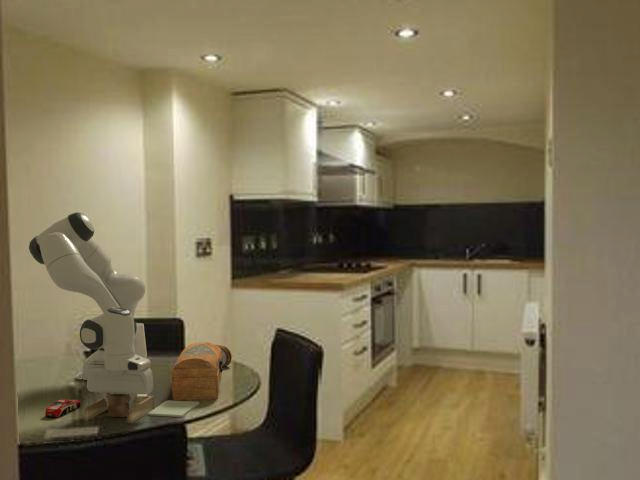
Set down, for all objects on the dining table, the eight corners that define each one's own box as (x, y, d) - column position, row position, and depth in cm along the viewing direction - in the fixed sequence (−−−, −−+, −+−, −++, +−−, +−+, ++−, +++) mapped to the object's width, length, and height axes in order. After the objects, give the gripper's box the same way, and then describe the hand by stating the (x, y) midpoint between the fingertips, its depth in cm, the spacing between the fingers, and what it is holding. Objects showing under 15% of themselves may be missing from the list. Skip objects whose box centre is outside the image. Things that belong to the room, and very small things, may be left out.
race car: (69, 406, 199) (69, 393, 199) (84, 407, 198) (84, 394, 197) (41, 418, 186) (41, 405, 186) (57, 419, 185) (57, 406, 185)
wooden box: (220, 399, 205) (220, 357, 205) (169, 401, 204) (169, 358, 204) (226, 377, 235) (225, 340, 235) (181, 378, 234) (181, 341, 233)
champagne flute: (123, 394, 211) (122, 324, 210) (142, 391, 215) (142, 322, 214) (130, 399, 205) (130, 326, 205) (150, 395, 209) (149, 324, 209)
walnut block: (108, 416, 186) (108, 396, 186) (116, 411, 191) (116, 391, 191) (123, 417, 186) (123, 397, 185) (131, 412, 191) (131, 392, 190)
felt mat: (147, 415, 188) (147, 413, 188) (167, 402, 202) (167, 400, 202) (182, 417, 186) (182, 415, 186) (199, 403, 200) (199, 401, 200)
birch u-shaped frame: (84, 420, 183) (84, 407, 183) (109, 406, 197) (109, 393, 197) (132, 423, 180) (132, 409, 180) (154, 408, 194) (154, 396, 194)
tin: (232, 367, 251) (232, 346, 251) (227, 368, 249) (226, 347, 248) (204, 362, 259) (204, 342, 259) (199, 364, 257) (198, 344, 256)
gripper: (82, 362, 187) (83, 408, 187) (146, 365, 183) (146, 411, 184) (93, 358, 193) (94, 402, 193) (155, 360, 189) (155, 405, 190)
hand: (120, 407), depth 188 cm, fingers closed on walnut block, 5 cm apart
